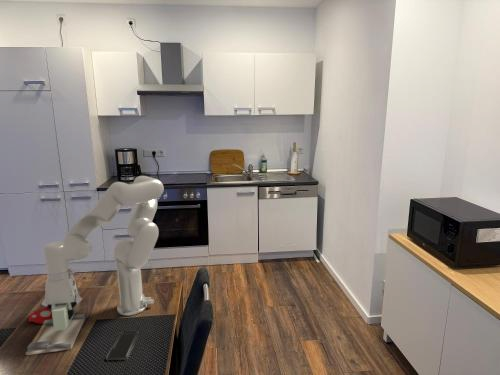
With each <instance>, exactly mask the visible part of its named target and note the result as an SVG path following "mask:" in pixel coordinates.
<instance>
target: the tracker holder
mask: <svg viewBox="0 0 500 375" xmlns="http://www.w3.org/2000/svg"><path fill="white" fill-rule="evenodd" d="M50 319H53V317H52V311H51V309H49V308H48V307H47V306H45V307H44V308H41V309H38V310H36V311H33V312H32V313H31V314H30V315H29V316H28V323H32V322H33V323H36V324H40V325H43V323H44V321H45V320H50Z"/></svg>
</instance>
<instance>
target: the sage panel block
mask: <svg viewBox="0 0 500 375" xmlns="http://www.w3.org/2000/svg"><path fill="white" fill-rule="evenodd" d="M74 315H75V314H74ZM74 315H73V316H74ZM73 316H72V317H73ZM52 317H53V325H54V331H58V330H66V329H67V327H68V325H69V323H70V321H71V320H69V319H68V305H67V303H64V304H56V306H55V307H54V309H53V310H52ZM71 319H72V318H71Z"/></svg>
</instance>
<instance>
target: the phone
mask: <svg viewBox="0 0 500 375" xmlns="http://www.w3.org/2000/svg"><path fill="white" fill-rule="evenodd" d="M139 336H140V332H139V331H124V332H123V331H122V332H119V333H118V334H117V337H116V338H115V340H114V342H113V344H112V345H111V347H110V349H109V351H108V353H107V355H106V356H105V360H126V361H127V360H128V359H129V358H130V356H129V355H131V354H130V353H132V352H131V351H133V350H134V346H135V345H136V343H137V341H138V339H139ZM135 342H136V343H135ZM128 357H129V358H128Z"/></svg>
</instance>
